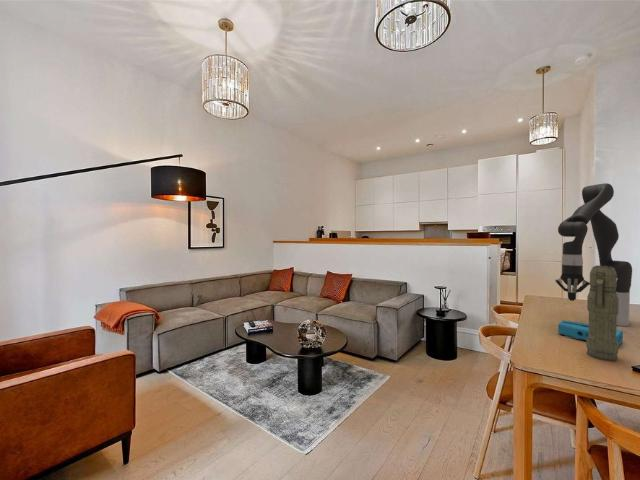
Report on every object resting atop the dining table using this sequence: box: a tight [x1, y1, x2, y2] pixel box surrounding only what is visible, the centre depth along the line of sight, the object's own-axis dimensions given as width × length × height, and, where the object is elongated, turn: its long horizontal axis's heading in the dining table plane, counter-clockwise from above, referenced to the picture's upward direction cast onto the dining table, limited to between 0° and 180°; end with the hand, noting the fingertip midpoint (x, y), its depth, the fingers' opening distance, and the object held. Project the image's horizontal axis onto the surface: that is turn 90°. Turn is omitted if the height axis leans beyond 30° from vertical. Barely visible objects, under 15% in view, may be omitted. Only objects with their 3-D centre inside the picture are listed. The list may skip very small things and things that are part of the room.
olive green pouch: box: [586, 265, 619, 362], centre depth 114 cm, size 9×12×35 cm
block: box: [557, 320, 624, 347], centre depth 133 cm, size 12×5×20 cm
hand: (571, 300), depth 140 cm, fingers closed
